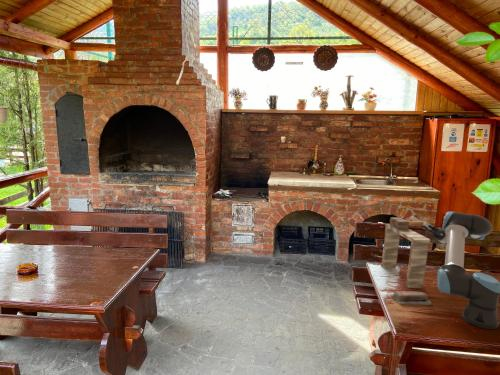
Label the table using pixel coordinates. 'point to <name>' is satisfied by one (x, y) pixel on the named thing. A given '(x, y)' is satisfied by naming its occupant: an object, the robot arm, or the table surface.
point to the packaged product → (411, 298)
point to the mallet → (404, 223)
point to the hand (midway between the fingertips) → (417, 220)
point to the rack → (416, 254)
